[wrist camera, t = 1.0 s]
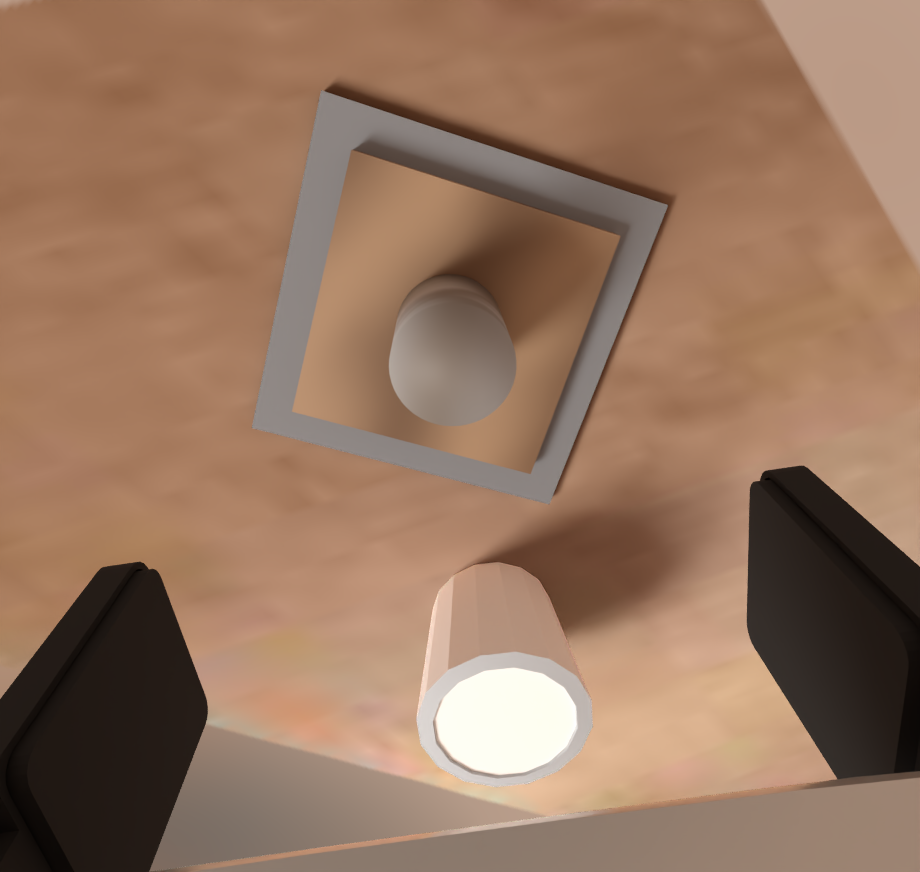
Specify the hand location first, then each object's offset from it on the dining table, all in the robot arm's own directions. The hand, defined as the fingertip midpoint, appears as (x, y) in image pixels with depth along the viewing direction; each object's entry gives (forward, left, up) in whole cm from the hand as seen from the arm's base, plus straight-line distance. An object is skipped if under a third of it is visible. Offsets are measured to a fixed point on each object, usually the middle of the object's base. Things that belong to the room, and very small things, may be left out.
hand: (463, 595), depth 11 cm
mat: (0, 0, -18) cm, 18 cm away
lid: (0, 0, -18) cm, 18 cm away
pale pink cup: (-6, +13, -18) cm, 23 cm away
